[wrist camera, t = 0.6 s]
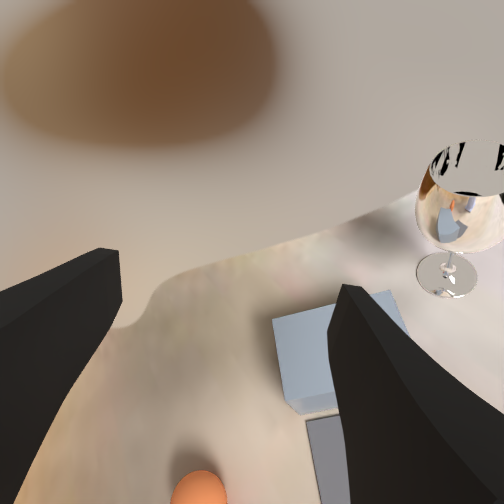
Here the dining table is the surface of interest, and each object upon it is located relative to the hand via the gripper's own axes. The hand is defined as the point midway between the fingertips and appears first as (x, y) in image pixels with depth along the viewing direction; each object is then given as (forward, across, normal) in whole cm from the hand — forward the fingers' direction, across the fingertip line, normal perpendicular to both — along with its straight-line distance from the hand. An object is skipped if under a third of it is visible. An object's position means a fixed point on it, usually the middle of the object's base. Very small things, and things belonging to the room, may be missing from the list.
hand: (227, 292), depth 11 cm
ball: (+2, 0, +20) cm, 20 cm away
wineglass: (+16, -17, +7) cm, 24 cm away
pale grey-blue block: (+10, -9, +13) cm, 19 cm away
